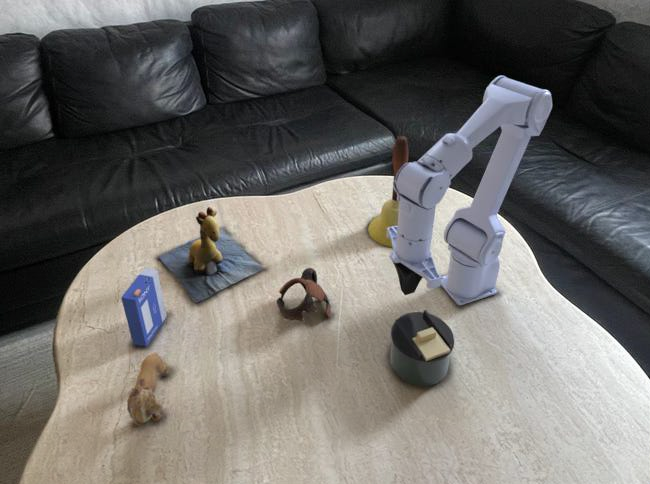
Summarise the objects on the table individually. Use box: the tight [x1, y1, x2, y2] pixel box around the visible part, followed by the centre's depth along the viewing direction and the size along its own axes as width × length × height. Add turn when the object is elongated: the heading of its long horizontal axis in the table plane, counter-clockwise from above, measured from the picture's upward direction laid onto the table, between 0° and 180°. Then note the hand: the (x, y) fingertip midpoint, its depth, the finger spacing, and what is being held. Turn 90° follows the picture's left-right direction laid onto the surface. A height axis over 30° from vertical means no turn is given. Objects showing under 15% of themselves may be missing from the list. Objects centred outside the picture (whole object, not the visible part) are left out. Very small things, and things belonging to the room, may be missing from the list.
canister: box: [389, 309, 455, 387], centre depth 88 cm, size 11×11×8 cm
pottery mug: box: [276, 267, 332, 323], centre depth 100 cm, size 12×10×8 cm
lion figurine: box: [126, 352, 170, 427], centre depth 81 cm, size 15×5×9 cm, turn 13°
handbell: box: [367, 135, 410, 248], centre depth 116 cm, size 12×12×25 cm
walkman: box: [120, 267, 168, 348], centre depth 94 cm, size 8×3×12 cm, turn 166°
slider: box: [412, 327, 450, 361], centre depth 84 cm, size 4×5×2 cm
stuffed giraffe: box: [157, 206, 264, 304], centre depth 109 cm, size 16×18×16 cm
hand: (408, 291), depth 91 cm, fingers closed
